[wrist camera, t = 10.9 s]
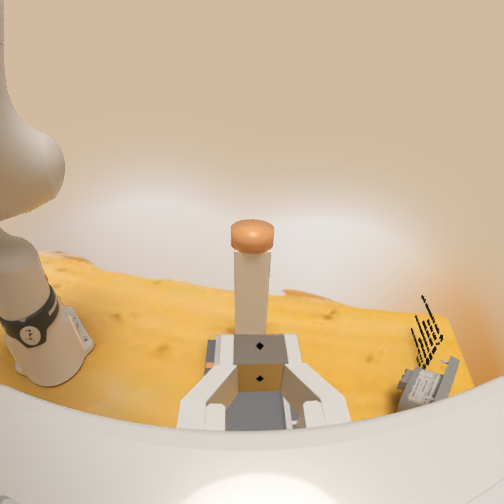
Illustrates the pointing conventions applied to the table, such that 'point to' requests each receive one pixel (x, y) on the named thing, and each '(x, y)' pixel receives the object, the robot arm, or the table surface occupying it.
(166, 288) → the table surface
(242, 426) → the slider track
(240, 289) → the slider handle
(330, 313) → the table surface
